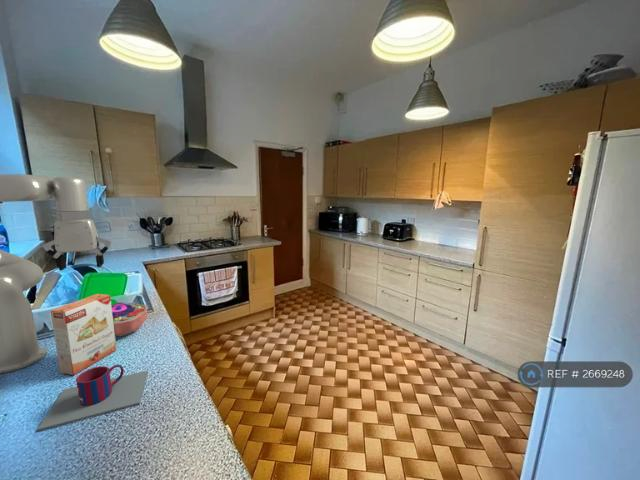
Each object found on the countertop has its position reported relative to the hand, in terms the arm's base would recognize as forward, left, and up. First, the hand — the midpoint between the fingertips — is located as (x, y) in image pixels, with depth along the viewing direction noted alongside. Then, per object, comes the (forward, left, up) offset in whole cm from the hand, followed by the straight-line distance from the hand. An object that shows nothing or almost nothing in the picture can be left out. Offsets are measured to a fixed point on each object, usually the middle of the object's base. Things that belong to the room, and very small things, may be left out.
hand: (81, 267), depth 88 cm
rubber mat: (+9, -28, -30) cm, 42 cm away
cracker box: (+1, -7, -31) cm, 31 cm away
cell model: (+6, +11, -31) cm, 33 cm away
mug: (+10, -27, -30) cm, 41 cm away
